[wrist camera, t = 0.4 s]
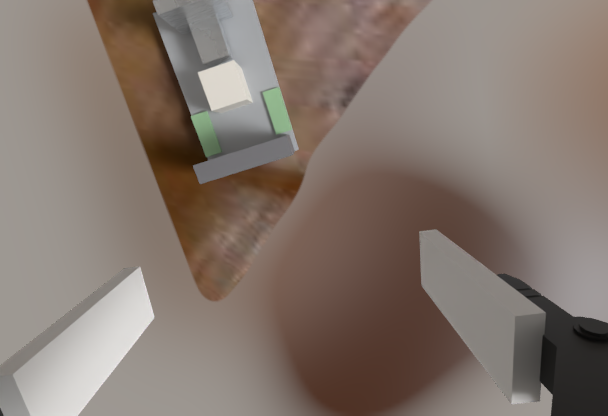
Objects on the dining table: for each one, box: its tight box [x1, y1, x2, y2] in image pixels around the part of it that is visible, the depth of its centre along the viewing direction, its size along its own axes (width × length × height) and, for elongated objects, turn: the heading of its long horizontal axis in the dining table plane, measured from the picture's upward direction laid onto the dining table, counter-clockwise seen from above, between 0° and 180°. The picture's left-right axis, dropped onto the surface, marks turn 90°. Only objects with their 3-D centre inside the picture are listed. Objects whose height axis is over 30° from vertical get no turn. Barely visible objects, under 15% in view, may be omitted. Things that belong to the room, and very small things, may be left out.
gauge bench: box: [153, 0, 299, 184], centre depth 33 cm, size 19×11×8 cm, turn 17°
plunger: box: [153, 0, 233, 68], centre depth 32 cm, size 5×6×6 cm
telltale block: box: [198, 60, 253, 113], centre depth 34 cm, size 4×4×4 cm
